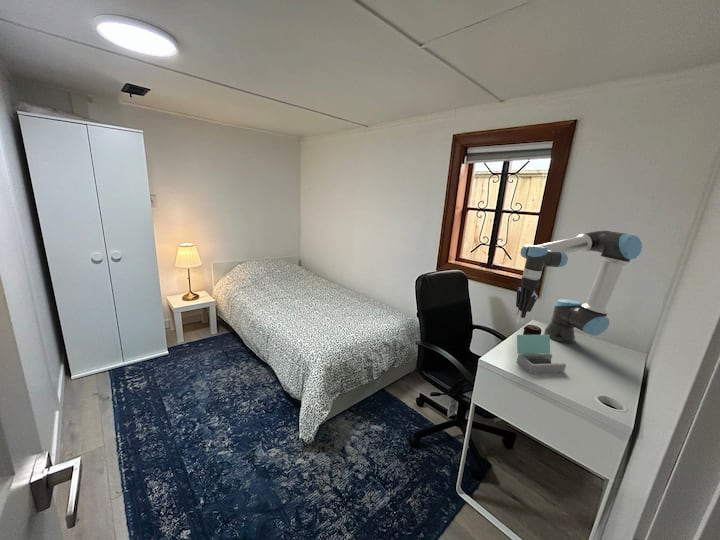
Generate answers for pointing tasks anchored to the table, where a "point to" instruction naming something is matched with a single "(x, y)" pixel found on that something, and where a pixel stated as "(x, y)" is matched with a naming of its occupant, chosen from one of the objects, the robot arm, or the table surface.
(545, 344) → the cover
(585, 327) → the robot arm
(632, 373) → the table surface
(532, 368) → the grey flat bent block
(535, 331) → the coffee cup
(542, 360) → the cylinder
